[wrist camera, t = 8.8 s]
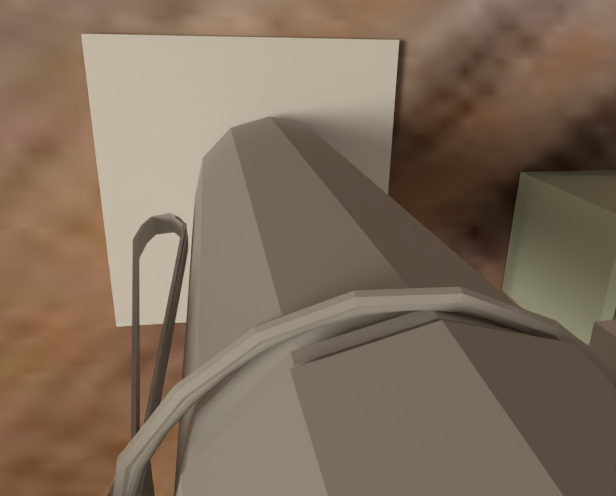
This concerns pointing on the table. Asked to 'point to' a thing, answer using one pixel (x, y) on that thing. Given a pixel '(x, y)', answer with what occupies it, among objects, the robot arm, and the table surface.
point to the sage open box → (564, 248)
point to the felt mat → (216, 128)
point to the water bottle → (352, 348)
